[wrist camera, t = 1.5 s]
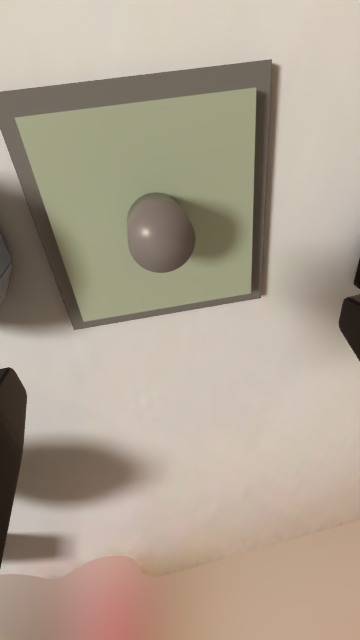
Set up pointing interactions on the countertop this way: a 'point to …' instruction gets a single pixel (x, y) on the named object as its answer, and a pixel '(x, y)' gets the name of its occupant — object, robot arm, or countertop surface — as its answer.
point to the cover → (149, 199)
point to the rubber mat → (134, 89)
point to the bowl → (4, 269)
